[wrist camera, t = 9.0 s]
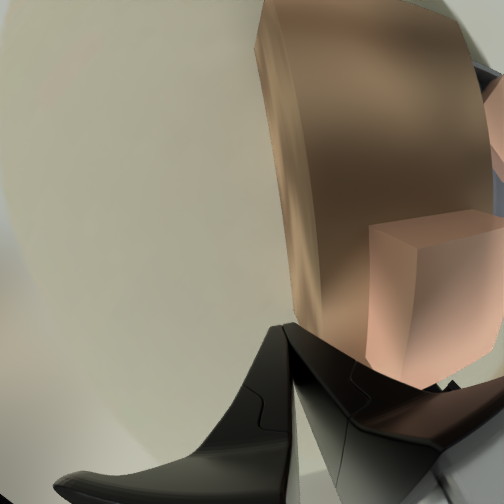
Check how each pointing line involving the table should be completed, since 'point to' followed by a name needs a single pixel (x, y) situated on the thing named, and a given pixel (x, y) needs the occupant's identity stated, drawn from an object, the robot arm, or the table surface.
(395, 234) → the tile
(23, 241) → the table surface
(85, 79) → the table surface
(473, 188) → the brown wooden block
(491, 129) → the tile
